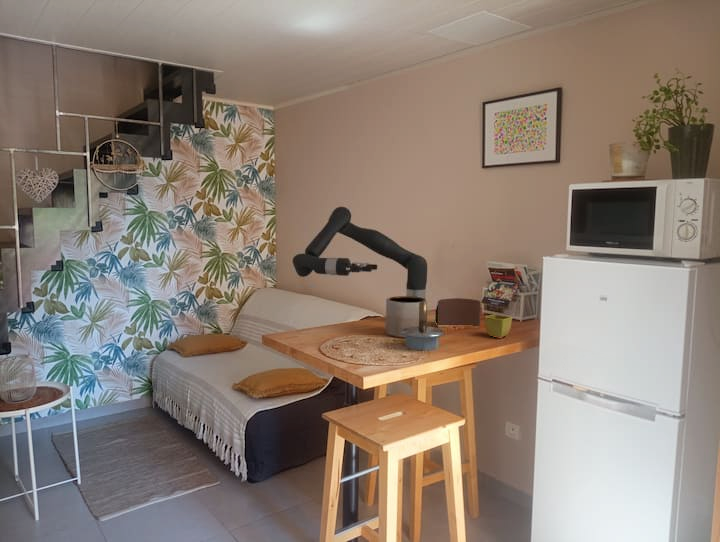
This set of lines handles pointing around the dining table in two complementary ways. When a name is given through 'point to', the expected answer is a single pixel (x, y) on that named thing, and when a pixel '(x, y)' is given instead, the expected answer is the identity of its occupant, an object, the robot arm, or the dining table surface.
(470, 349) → the dining table surface
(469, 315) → the letter holder
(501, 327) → the flower pot
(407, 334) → the spindle on round base
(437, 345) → the bowl
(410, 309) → the planter
